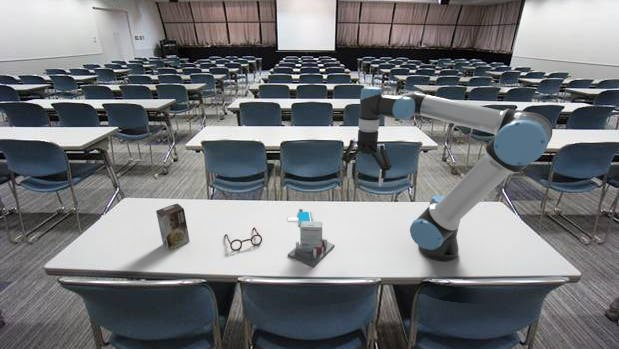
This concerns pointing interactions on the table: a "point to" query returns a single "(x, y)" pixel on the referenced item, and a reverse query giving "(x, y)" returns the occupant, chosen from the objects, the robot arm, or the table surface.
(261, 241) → the glasses
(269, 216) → the table surface
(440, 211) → the robot arm
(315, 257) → the cradle
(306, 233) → the ink box
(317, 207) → the table surface
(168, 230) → the coffee box
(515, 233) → the table surface
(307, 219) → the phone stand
